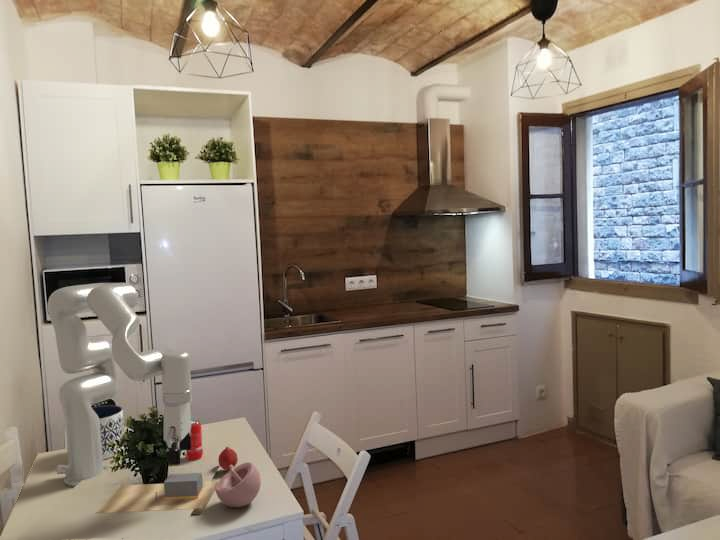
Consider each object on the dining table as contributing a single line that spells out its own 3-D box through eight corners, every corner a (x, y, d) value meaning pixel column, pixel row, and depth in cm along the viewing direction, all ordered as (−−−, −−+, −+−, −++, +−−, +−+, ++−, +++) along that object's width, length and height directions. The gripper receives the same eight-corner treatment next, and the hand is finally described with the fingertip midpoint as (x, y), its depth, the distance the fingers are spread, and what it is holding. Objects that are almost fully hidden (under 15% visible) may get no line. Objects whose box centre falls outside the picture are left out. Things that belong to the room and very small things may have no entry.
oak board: (95, 518, 145) (95, 513, 145) (121, 490, 161) (121, 485, 161) (202, 513, 145) (201, 508, 145) (217, 485, 161) (217, 480, 161)
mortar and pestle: (214, 499, 153) (211, 459, 152) (257, 490, 157) (255, 451, 156) (219, 520, 141) (216, 476, 141) (265, 509, 145) (263, 467, 145)
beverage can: (189, 462, 179) (187, 426, 178) (184, 457, 183) (182, 422, 183) (205, 457, 182) (203, 422, 182) (199, 453, 186) (197, 418, 186)
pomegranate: (216, 470, 172) (214, 445, 171) (233, 465, 175) (231, 441, 174) (223, 476, 167) (222, 451, 166) (241, 471, 170) (239, 446, 170)
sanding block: (165, 500, 150) (163, 482, 150) (171, 491, 155) (170, 474, 155) (197, 498, 150) (196, 480, 150) (203, 490, 155) (201, 472, 155)
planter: (64, 460, 186) (60, 419, 185) (99, 442, 201) (96, 404, 200) (102, 464, 181) (99, 421, 180) (135, 445, 196) (132, 406, 195)
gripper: (174, 387, 160) (176, 444, 161) (152, 407, 142) (155, 471, 144) (200, 387, 160) (202, 444, 161) (181, 406, 142) (184, 470, 144)
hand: (180, 456), depth 152 cm, fingers open, 9 cm apart
